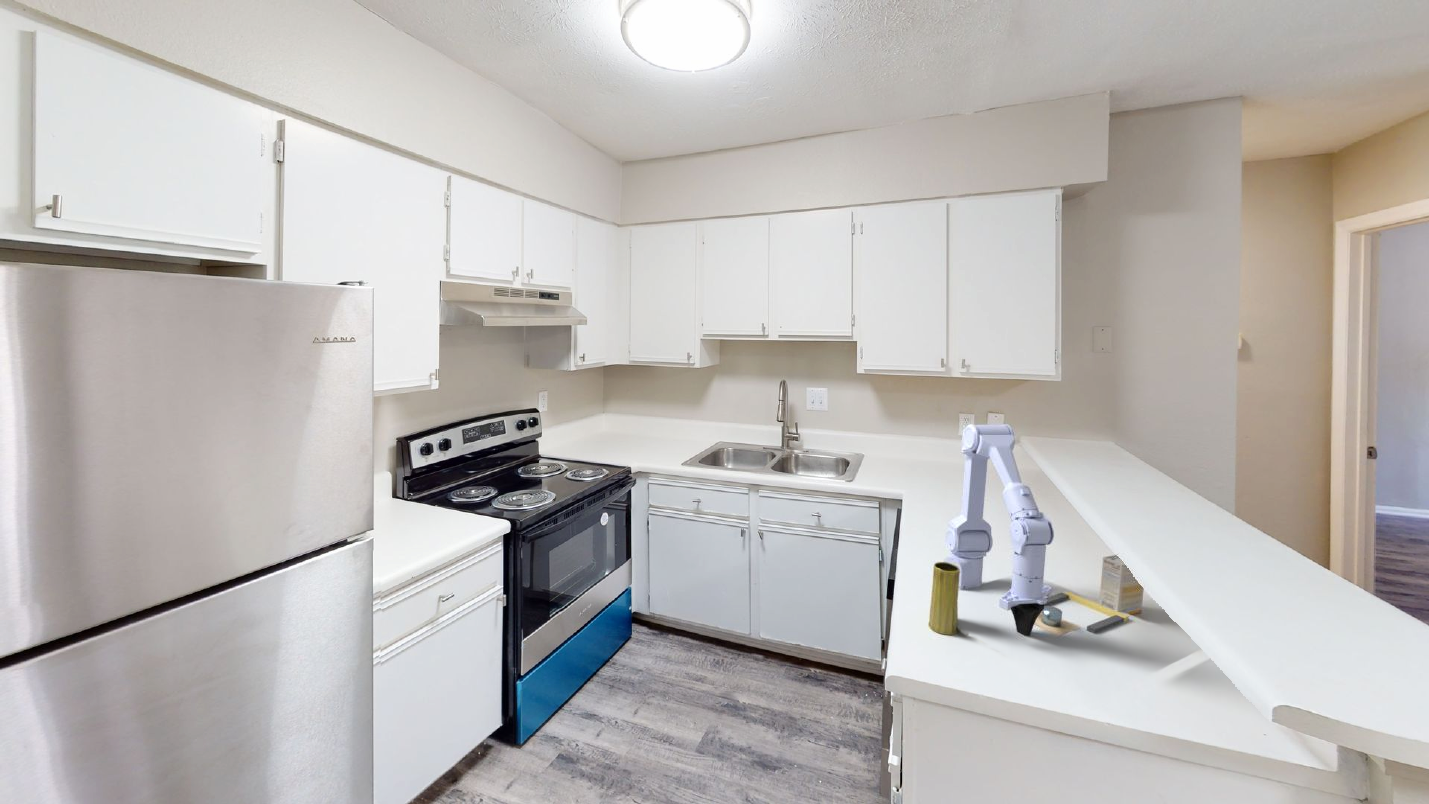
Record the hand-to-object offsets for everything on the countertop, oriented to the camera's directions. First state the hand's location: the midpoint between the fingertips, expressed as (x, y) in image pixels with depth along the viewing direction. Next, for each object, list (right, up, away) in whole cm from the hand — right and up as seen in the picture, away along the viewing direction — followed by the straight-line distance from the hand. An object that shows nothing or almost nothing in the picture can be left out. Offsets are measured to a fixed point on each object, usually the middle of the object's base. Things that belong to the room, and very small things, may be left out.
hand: (1023, 633), depth 120 cm
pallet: (+9, -1, +5) cm, 10 cm away
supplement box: (+30, 0, +13) cm, 33 cm away
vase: (-15, -1, +5) cm, 16 cm away
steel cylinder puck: (+9, +1, +4) cm, 10 cm away
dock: (+18, 0, +9) cm, 20 cm away
